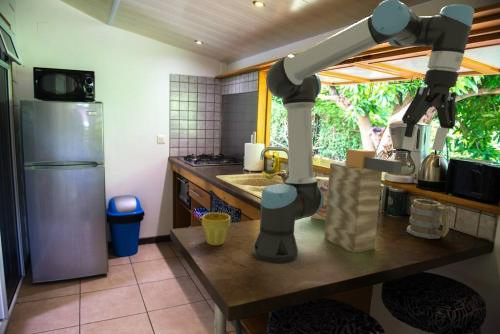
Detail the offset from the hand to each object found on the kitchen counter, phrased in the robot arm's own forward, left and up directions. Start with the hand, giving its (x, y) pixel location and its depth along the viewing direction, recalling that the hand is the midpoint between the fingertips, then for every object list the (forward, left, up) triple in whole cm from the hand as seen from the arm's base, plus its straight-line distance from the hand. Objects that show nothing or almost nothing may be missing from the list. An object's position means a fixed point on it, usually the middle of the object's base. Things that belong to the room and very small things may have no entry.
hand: (422, 150), depth 91 cm
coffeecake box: (-41, +48, -39) cm, 74 cm away
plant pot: (-63, -10, -39) cm, 75 cm away
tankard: (+2, +52, -39) cm, 65 cm away
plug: (-16, +17, -9) cm, 25 cm away
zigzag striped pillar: (-23, +21, -39) cm, 50 cm away
